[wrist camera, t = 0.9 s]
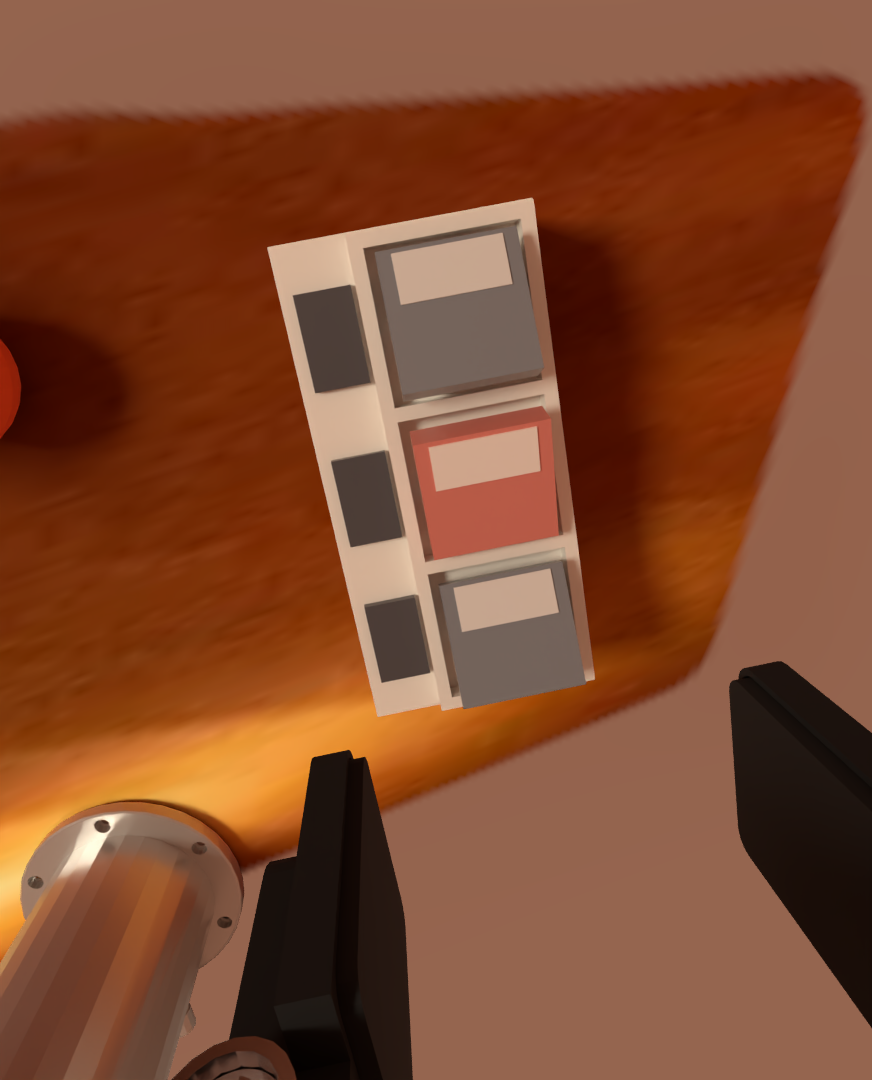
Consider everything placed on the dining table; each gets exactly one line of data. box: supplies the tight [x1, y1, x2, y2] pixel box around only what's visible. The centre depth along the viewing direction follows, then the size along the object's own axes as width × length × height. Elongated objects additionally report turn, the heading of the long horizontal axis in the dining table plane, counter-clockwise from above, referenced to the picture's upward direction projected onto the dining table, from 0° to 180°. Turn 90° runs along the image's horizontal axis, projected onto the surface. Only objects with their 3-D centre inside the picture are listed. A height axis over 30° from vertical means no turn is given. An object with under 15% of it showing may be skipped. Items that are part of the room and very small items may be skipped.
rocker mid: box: [410, 406, 559, 560], centre depth 30 cm, size 6×6×2 cm
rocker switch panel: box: [267, 198, 595, 717], centre depth 34 cm, size 22×11×6 cm, turn 10°
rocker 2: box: [438, 560, 586, 709], centre depth 32 cm, size 6×6×2 cm
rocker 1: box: [375, 225, 544, 402], centre depth 28 cm, size 6×6×2 cm
